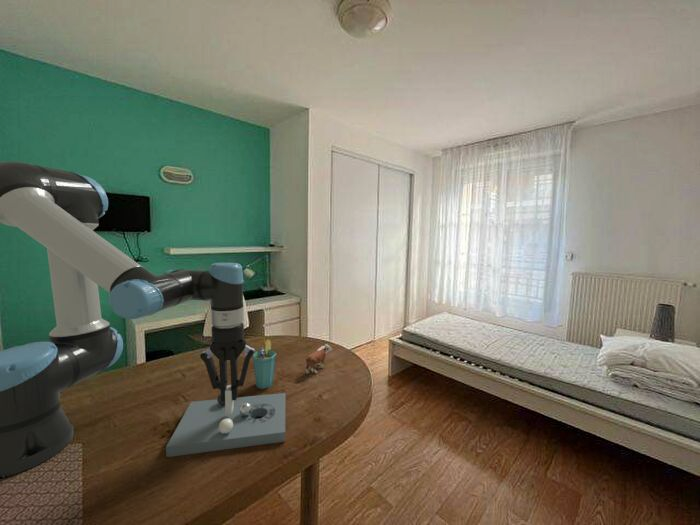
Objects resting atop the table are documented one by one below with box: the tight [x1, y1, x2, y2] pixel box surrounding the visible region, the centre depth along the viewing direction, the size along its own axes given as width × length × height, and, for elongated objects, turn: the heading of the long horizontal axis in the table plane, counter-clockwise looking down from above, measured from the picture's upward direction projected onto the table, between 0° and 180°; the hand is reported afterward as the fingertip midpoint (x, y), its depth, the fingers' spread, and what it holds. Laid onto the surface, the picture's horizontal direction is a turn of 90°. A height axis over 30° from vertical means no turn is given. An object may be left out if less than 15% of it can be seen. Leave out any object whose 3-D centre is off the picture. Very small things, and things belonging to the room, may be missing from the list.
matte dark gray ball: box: [216, 393, 225, 405], centre depth 78 cm, size 3×3×3 cm
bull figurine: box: [305, 343, 333, 375], centre depth 105 cm, size 4×13×8 cm, turn 148°
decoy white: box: [219, 418, 233, 434], centre depth 67 cm, size 3×3×3 cm
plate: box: [165, 392, 286, 458], centre depth 73 cm, size 26×17×2 cm, turn 103°
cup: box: [251, 339, 277, 390], centre depth 92 cm, size 14×8×15 cm, turn 11°
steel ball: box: [239, 402, 252, 416], centre depth 74 cm, size 3×3×3 cm
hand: (229, 411), depth 73 cm, fingers closed
